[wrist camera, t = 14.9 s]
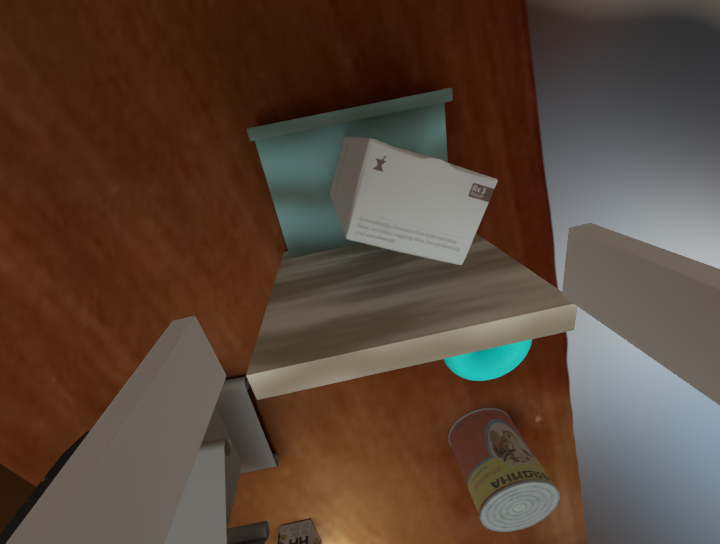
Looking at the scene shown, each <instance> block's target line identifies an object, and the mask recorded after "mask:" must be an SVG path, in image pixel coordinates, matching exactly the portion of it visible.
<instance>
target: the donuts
mask: <svg viewBox="0 0 720 544" xmlns="http://www.w3.org/2000/svg"><path fill="white" fill-rule="evenodd" d="M531 343H532V339H530V340H526V341H521V342H517V343H512V344H508V345H503V346H499V347H494V348H490V349H485V350H481V351H476V352H472V353H467V354H463V355H458V356H454V357H449V358H445V359H444V361H445V363H446V365H447V366H448V367H449V368H450V369H451V370H452V371H453V372H454V373H455V374H457V375H458V376H460V377H463V378H465V379H469V380H475V381H483V380H490V379H494V378H498V377H500V376H502V375H505V374H506V373H508V372H510V371H511V370H513V369H514V368H515V367H516V366H518V365H519V364H520V363H521V362H522V360H523V359H524V358H525V356H526V355H527V353H528V351H529V349H530V346H531Z"/></svg>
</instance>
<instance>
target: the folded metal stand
mask: <svg viewBox="0 0 720 544" xmlns="http://www.w3.org/2000/svg"><path fill="white" fill-rule="evenodd" d="M245 378H247V376H245V377H239V378H234V379H228V380H225V381H224V384H223V386H222V389H221V392H220V394H219V397H218V400H217V403H216V405H215V408H214V411H213V413H212V416H211V419H210V421H209V424H208V427H207V430H206V432H205V435H204V438H203V440H202V443H201V446H200V449H199V451H198V454H197V457H196V459H195V462H194V465H193V467H192V470H191V473H190V476H189V478H188V481H187V484H186V486H185V489H184V492H183V494H182V497H181V500H180V503H179V505H178V508H177V511H176V513H175V516H174V519H173V522H172V524H171V527H170V530H169V532H168V535H167V538H166V540H165V543H164V544H265V542H266V541H267V539H268V537H269V533H270V524H269V521H263V522H258V523H253V524H249V525H244V526H239V527H234V528H229V529H227V527H228V523H229V518H230V514H231V510H232V506H233V501H234V497H235V493H236V489H237V485H238V480H239V476H240V473H244V472H249V471H254V470H259V469H264V468H269V467H275V466H278V462H279V458H278V455H276V454H277V453H274V454H272V452H271V450H270V447H269V445H268V442H267V440H266V437H265V435H264V432H263V430H262V427H261V425H260V422H259V420H258V417H257V415H256V412H255V410H254V407H253V405H252V402H251V400H250V397H249V395H248V392H247V390H248V389H249V385H250V384H249V381H248V380H245Z"/></svg>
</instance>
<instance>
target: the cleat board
mask: <svg viewBox="0 0 720 544" xmlns="http://www.w3.org/2000/svg"><path fill="white" fill-rule="evenodd" d="M449 101H453V100H452V88H448V89H443V90H438V91H433V92H428V93H423V94H418V95H413V96H408V97H403V98H398V99H393V100H388V101H383V102H378V103H373V104H368V105H363V106H358V107H353V108H348V109H343V110H338V111H333V112H328V113H323V114H318V115H313V116H308V117H303V118H298V119H293V120H288V121H283V122H278V123H273V124H268V125H263V126H258V127H253V128H248V129H247V133H248V136H249V139H250V141H255V143H256V147H257V150H258V153H259V156H260V160H261V163H262V166H263V170H264V173H265V176H266V180H267V183H268V186H269V189H270V193H271V196H272V199H273V203H274V206H275V209H276V213H277V216H278V219H279V222H280V226H281V229H282V232H283V236H284V239H285V242H286V245H287V249H288V251H286V252H284V253H283V256H282V260H281V263H280V266H279V269H278V273H277V276H276V279H275V283H274V286H273V289H272V292H271V296H270V299H269V302H268V305H267V309H266V312H265V315H264V319H263V322H262V325H261V328H260V332H259V335H258V338H257V342H256V345H255V348H254V351H253V355H252V358H251V361H250V364H249V368H248V371H247V374H246V376H247V379H248V381H249V383H250V385H251V388H252V390H253V392H254V394H255V396H256V399H257V400H260V399H264V398H269V397H273V396H278V395H282V394H287V393H291V392H296V391H300V390H305V389H309V388H314V387H318V386H323V385H327V384H332V383H336V382H341V381H345V380H350V379H354V378H359V377H363V376H368V375H372V374H377V373H381V372H386V371H390V370H395V369H399V368H404V367H408V366H413V365H417V364H422V363H426V362H431V361H436V360H440V359H445V358H449V357H454V356H458V355H463V354H467V353H472V352H476V351H481V350H485V349H490V348H494V347H499V346H503V345H508V344H512V343H517V342H521V341H526V340H530V339H535V338H539V337H544V336H548V335H553V334H557V333H562V332H566V331H571V330H574V325H575V318H576V312H577V305H575V304H574V303H572V302H571V301H569V300H568V299H567V298H565V297H564V296H562V292H561V291H560V290H558V289H557V288H555V287H554V286H552V285H551V284H549V283H548V282H547V281H545V280H544V279H542V278H541V277H539V276H538V275H536V274H535V273H533V272H532V271H530V270H529V269H527V268H526V267H525V266H523V265H522V264H520V263H519V262H517V261H516V260H514V259H513V258H511V257H510V256H508V255H507V254H505V253H504V252H502V251H501V250H500V249H498V248H497V247H495V246H494V245H492V244H491V243H489V242H488V241H486V240H485V239H483V238H482V237H480V236H479V235H478V234H475V236H474V239H473V241H472V244H471V246H470V248H469V251H468V253H467V256H466V258H465V260H464V262H463V264H462V265H457V264H452V263H447V262H443V261H438V260H433V259H429V258H424V257H420V256H415V255H411V254H406V253H402V252H398V251H393V250H389V249H385V248H381V247H377V246H373V245H369V244H365V243H360V242H356V241H352V240H348V239H346V236H345V233H344V231H343V228H342V225H341V223H340V220H339V217H338V215H337V212H336V210H335V207H334V204H333V202H332V199H331V196H330V191H331V187H332V183H333V178H334V174H335V170H336V166H337V162H338V158H339V154H340V150H341V146H342V142H343V139H344V137H345V136H347V137H361V138H373V139H376V140H379V141H381V142H383V143H386V144H388V145H391V146H394V147H398V148H401V149H405V150H409V151H412V152H416V153H419V154H422V155H426V156H429V157H432V158H437V159H440V160H443V161H445V162H447V163H448V159H447V141H446V122H445V104H444V102H449Z"/></svg>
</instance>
